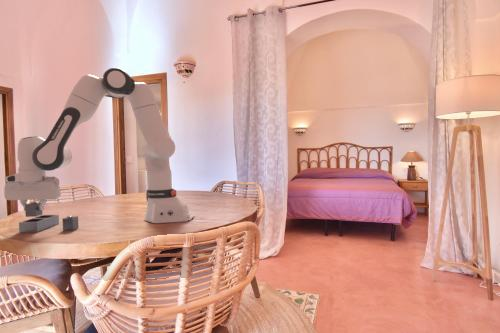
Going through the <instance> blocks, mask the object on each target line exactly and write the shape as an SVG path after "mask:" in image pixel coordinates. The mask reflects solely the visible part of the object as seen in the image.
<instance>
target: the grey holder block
mask: <svg viewBox="0 0 500 333" xmlns="http://www.w3.org/2000/svg"><path fill="white" fill-rule="evenodd" d="M59 216H60V215H59V214H42V215H39V216H36V217H32V218H28V219H26V220H23V221H19V222H18V230H19V231H18V232H19V233H22V234H23V233H38V232H42V231H44V230H46V229H49V228H51V227H54V226H56V225H57V226H58V225H60V217H59Z"/></svg>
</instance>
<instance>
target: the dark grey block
mask: <svg viewBox="0 0 500 333" xmlns="http://www.w3.org/2000/svg"><path fill="white" fill-rule="evenodd" d="M61 220H62V231H63V232H65V231H66V232H69V231H70V232H71V231H75V230H78V229H79V216H78V215H77V216H76V215H75V216H74V215H67V216H65V217H63V218H62V219H61Z"/></svg>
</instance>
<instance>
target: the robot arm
mask: <svg viewBox="0 0 500 333" xmlns="http://www.w3.org/2000/svg"><path fill="white" fill-rule="evenodd" d="M104 97H105V98H106V97H109V98H113V99H123V98H126V99H127V100H128V101H129V103H130V106H131V109H132V112H133V115H134V117H135V120H136V123H137V127H138V129H139V130H140V132H141V134H142V136H143V138H144V140H145V142H144V144H143V154H144V155H143V157H144V162H145V168H146V187H147V189H146V195H145V196H146V197H145V198H146V211H145V216H144V221H145V222H150V223H152V224H163V223H165V224H166V223H181V222H188V220H189V221H191V220H193V219H194V213H192V212H190V210H189V206H188V203H186V202H185V201H183V200H182V199H181V198H180V197H178V196H177V189H174V188H172V187H173V186H172V185H173V184H172V182H173V181H172V180H173V179H172V170H171V168H170V167H171V166H170V162H169V158H171V157H172V156H173V155H174V154H175V151H176V144H175V142H174V140H173V139H172V136H171V134H170V133H169V131H168V129H167V126H166V124H165V123H164V120H163V118H162V115H161V112H160V108H159V106H158V102H157V99H156V97H155V94H154V92H153V91H152V88H151V87H150V85H149V84H148V83H146V82H143V81H141V82H140V81H138V82H136V81H135V79H134V78H132V77H131V76H130V74H128V73H127V71H126V70H123V69H122V68H119V67H110V68H108V69H107V70H105V72H104V73H103V76H102V77H97V76H95V75H92V74H84V75H82V76H81V77H80V78H79V80H78V81H77V82H76V83H75V85H74V87H73V88H72V90H71V92H70V94H69V96H68V98H67V100H66V102H65V105H64V106H63V109H62V111H61V113H60V116H59V118H57V120H56V122H55V124H54V126H53V127H52V129H51V131H50V133H49V134H48V136H47V137H46V139H44V138H43V137H42V136H28V137H27V136H26V137H23V138H21V139H19V140H18V143H17V161H18V170H17V172H16V173H14V174H10V175H8V176H5V177H4V182H5V184H4V194H3V195H4V198H5V200H6V201H19V202H20V204H21V206H22V207H23V211H24V212H25V204H28V201H31V200H32V201H34V200H35V201H38V200H39V203H41V204H40V206H37V208H38V211H42V212H43V211H44V210H45V205H46V204H47V202H48V201H47V200H57V199H60V197H61V196H62V193H61V189H60V187H61V186H60V179H59V178H57V177H56V176H46V175H47V174H46V172H47V171H53V170H56V169H57V170H58V169H61V168H64V167H66V166H67V165H69V164H70V163H71V161H72V158H73V156H72V152H71V151H70V149H69V148H68V147H66V144H67V143H68V141H69V139H70V138H71V136H72V134H73V132H74V130H75V129H76V128H77V127H79V126H80V125H81V124H83V123H85V122H88V121H90V120H91V118H92V117H93V116H94V114H95V113H96V112H97V111H98V108H99V106H100V103H101V101H102V100H103V99H104ZM192 218H193V219H192Z"/></svg>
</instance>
